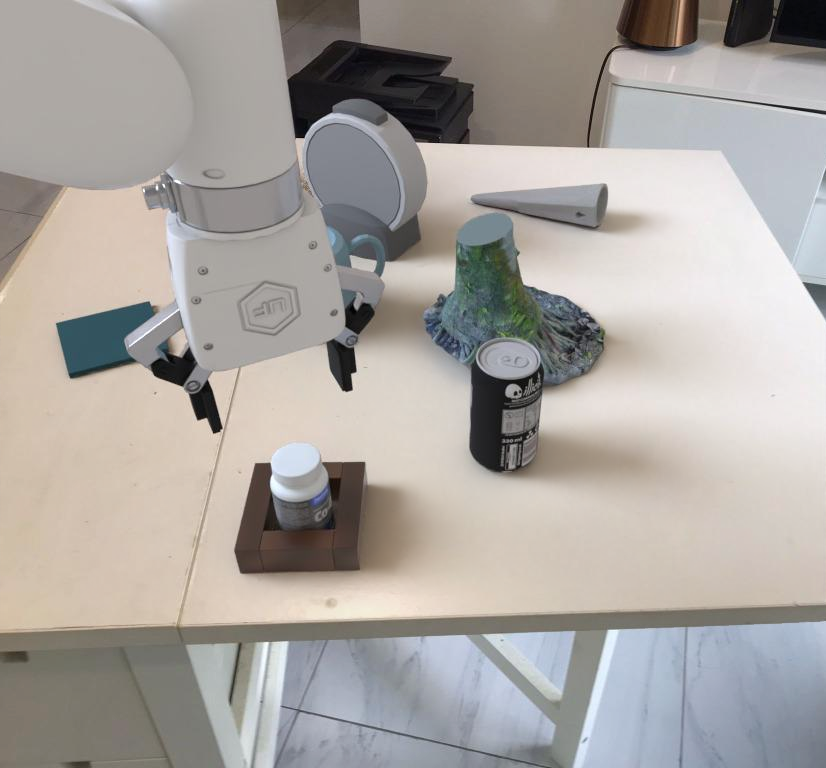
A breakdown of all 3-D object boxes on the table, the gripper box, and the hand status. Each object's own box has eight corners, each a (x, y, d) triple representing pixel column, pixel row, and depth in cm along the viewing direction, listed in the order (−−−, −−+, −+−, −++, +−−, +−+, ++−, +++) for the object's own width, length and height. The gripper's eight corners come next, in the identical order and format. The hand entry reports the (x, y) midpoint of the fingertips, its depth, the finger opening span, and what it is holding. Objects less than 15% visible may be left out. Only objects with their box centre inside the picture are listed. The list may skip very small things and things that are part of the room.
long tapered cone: (487, 194, 123) (608, 210, 117) (471, 217, 119) (595, 234, 113) (483, 161, 119) (608, 175, 113) (466, 183, 115) (595, 199, 109)
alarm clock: (439, 236, 110) (438, 105, 98) (398, 270, 103) (391, 133, 91) (343, 205, 115) (331, 77, 103) (296, 236, 108) (278, 102, 96)
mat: (70, 378, 84) (68, 373, 83) (57, 327, 90) (55, 322, 90) (169, 352, 88) (168, 347, 87) (150, 305, 94) (149, 300, 94)
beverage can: (478, 424, 82) (481, 329, 74) (541, 435, 81) (551, 340, 73) (461, 469, 77) (463, 373, 69) (529, 482, 76) (538, 386, 68)
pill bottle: (329, 548, 69) (319, 481, 63) (274, 546, 69) (259, 479, 63) (339, 506, 72) (330, 439, 67) (286, 504, 72) (273, 437, 67)
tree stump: (620, 394, 87) (601, 261, 75) (440, 428, 88) (393, 303, 76) (594, 292, 100) (575, 164, 88) (438, 323, 102) (398, 202, 89)
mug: (373, 275, 102) (368, 203, 95) (402, 322, 94) (399, 248, 88) (253, 299, 96) (239, 224, 90) (274, 351, 89) (260, 275, 82)
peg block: (239, 573, 66) (233, 550, 65) (260, 485, 74) (254, 462, 72) (359, 570, 67) (357, 547, 65) (367, 483, 75) (365, 461, 73)
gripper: (92, 251, 42) (169, 473, 53) (396, 186, 49) (407, 395, 60) (72, 190, 47) (146, 405, 58) (351, 139, 54) (369, 340, 65)
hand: (279, 400), depth 59 cm, fingers open, 9 cm apart
